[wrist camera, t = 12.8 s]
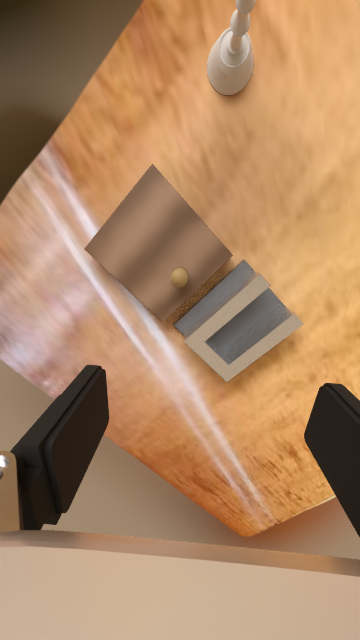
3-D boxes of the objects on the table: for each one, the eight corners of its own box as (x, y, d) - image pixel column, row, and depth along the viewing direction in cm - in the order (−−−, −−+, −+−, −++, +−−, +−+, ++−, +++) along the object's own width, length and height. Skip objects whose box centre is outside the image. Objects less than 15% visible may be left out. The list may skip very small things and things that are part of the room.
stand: (228, 254, 30) (239, 257, 24) (164, 315, 34) (159, 331, 27) (156, 172, 27) (146, 151, 21) (93, 248, 31) (70, 249, 24)
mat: (293, 317, 33) (295, 318, 32) (224, 371, 37) (224, 373, 36) (243, 259, 30) (244, 259, 30) (173, 324, 34) (173, 325, 33)
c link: (250, 269, 30) (260, 273, 26) (288, 313, 32) (303, 324, 28) (184, 329, 34) (183, 341, 29) (222, 365, 35) (226, 382, 31)
